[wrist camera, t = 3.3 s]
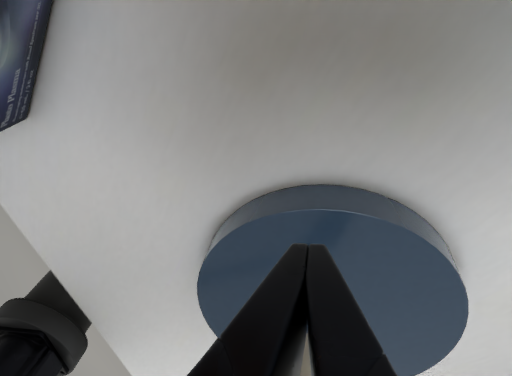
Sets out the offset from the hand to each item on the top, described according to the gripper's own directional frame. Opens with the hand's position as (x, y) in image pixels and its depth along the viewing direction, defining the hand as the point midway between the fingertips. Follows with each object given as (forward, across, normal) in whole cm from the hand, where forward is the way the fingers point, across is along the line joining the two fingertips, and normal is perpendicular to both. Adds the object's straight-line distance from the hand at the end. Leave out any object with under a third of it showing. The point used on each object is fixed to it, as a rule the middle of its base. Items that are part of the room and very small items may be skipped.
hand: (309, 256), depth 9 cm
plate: (+11, 0, +13) cm, 17 cm away
